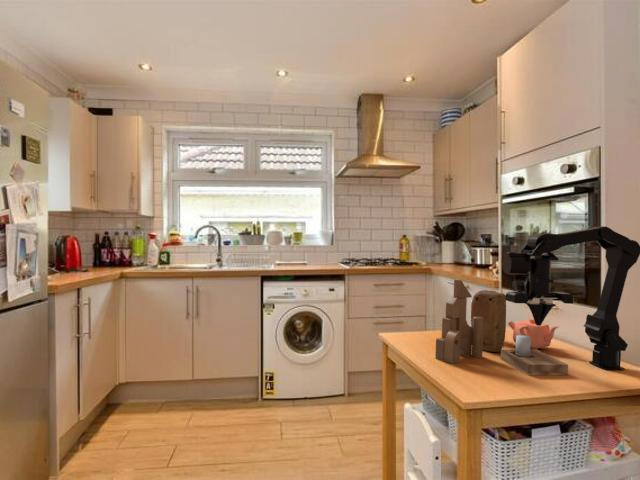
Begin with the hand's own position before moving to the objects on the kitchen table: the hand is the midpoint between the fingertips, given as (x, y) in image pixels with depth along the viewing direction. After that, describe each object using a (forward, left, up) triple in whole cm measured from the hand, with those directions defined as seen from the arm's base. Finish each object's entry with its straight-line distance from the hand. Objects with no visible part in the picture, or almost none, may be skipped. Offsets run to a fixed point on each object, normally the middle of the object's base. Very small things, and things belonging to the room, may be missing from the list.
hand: (538, 325), depth 119 cm
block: (+8, -16, -12) cm, 22 cm away
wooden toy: (+22, -6, -12) cm, 26 cm away
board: (+3, +2, -12) cm, 12 cm away
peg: (+5, 0, -12) cm, 12 cm away
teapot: (-10, -18, -12) cm, 24 cm away
